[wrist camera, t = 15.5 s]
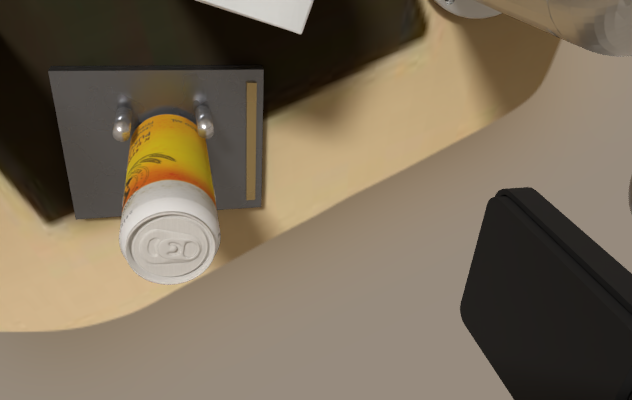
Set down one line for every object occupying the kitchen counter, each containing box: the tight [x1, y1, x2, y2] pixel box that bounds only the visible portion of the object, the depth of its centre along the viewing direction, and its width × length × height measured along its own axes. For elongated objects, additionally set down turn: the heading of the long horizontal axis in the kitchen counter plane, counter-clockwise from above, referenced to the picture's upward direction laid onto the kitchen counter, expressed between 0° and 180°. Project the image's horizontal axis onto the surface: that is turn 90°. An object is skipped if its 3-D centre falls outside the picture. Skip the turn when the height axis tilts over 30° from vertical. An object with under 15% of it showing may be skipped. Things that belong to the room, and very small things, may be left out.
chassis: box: [48, 65, 264, 219], centre depth 44 cm, size 16×13×5 cm
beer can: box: [119, 114, 221, 285], centre depth 39 cm, size 6×6×15 cm
